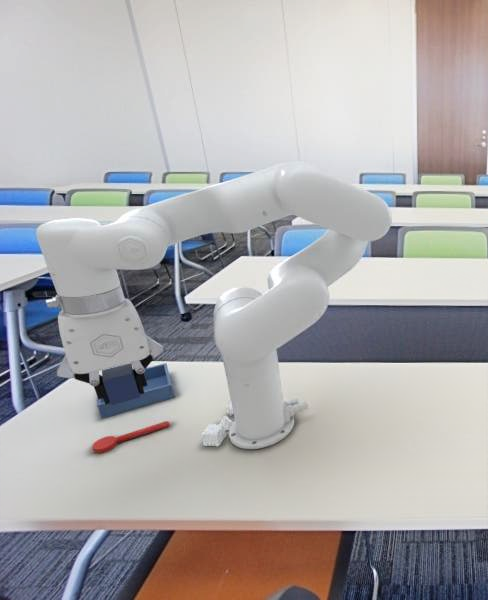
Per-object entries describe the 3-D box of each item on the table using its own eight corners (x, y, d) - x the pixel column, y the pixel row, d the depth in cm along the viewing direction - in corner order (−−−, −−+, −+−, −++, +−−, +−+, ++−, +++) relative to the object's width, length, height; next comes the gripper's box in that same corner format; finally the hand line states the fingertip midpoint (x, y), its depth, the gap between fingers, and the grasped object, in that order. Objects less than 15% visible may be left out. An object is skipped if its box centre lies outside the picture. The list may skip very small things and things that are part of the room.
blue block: (138, 386, 72) (131, 362, 70) (140, 397, 70) (132, 373, 68) (110, 394, 70) (101, 370, 68) (111, 405, 67) (102, 381, 65)
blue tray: (169, 374, 101) (166, 362, 99) (175, 397, 93) (171, 384, 91) (102, 392, 93) (97, 380, 92) (101, 418, 85) (97, 405, 84)
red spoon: (169, 420, 86) (167, 416, 85) (171, 430, 83) (169, 425, 83) (93, 444, 78) (91, 440, 78) (93, 456, 76) (91, 451, 75)
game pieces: (219, 447, 79) (217, 434, 78) (203, 446, 79) (199, 434, 78) (247, 408, 90) (244, 396, 89) (232, 408, 90) (229, 396, 89)
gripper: (14, 321, 55) (59, 426, 62) (160, 295, 65) (184, 388, 72) (20, 303, 60) (61, 402, 67) (155, 282, 70) (177, 370, 77)
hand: (124, 394), depth 70 cm, fingers closed on blue block, 4 cm apart
